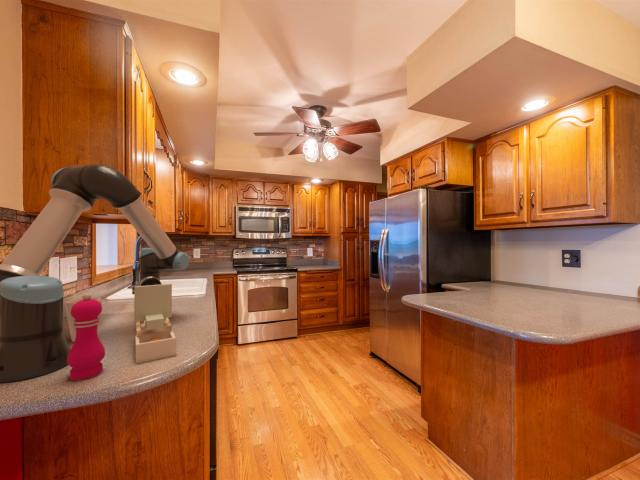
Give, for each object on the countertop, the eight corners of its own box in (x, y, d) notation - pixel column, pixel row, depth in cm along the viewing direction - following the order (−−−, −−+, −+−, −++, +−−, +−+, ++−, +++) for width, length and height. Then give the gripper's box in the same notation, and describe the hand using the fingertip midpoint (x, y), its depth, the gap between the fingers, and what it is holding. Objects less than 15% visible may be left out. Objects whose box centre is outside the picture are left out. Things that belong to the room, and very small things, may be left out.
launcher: (136, 355, 81) (136, 327, 81) (135, 338, 95) (135, 314, 95) (171, 348, 86) (171, 322, 86) (165, 333, 100) (165, 311, 100)
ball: (146, 335, 83) (146, 347, 84) (147, 344, 80) (147, 356, 81) (162, 333, 85) (162, 344, 86) (163, 341, 82) (163, 353, 83)
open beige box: (135, 363, 75) (136, 345, 76) (135, 352, 83) (135, 335, 83) (175, 355, 81) (175, 338, 81) (171, 345, 89) (171, 329, 89)
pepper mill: (109, 372, 71) (110, 292, 71) (72, 384, 65) (72, 297, 65) (98, 365, 75) (98, 289, 75) (62, 376, 69) (63, 293, 69)
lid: (134, 332, 79) (134, 290, 79) (134, 324, 86) (134, 286, 86) (174, 326, 85) (174, 287, 85) (171, 319, 92) (171, 283, 92)
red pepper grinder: (85, 343, 91) (85, 303, 91) (57, 343, 91) (57, 303, 91) (108, 334, 100) (108, 297, 100) (82, 334, 100) (82, 297, 100)
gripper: (169, 294, 119) (175, 304, 99) (131, 297, 111) (130, 309, 92) (169, 276, 119) (175, 283, 99) (131, 278, 111) (130, 286, 92)
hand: (153, 295), depth 95 cm, fingers closed
